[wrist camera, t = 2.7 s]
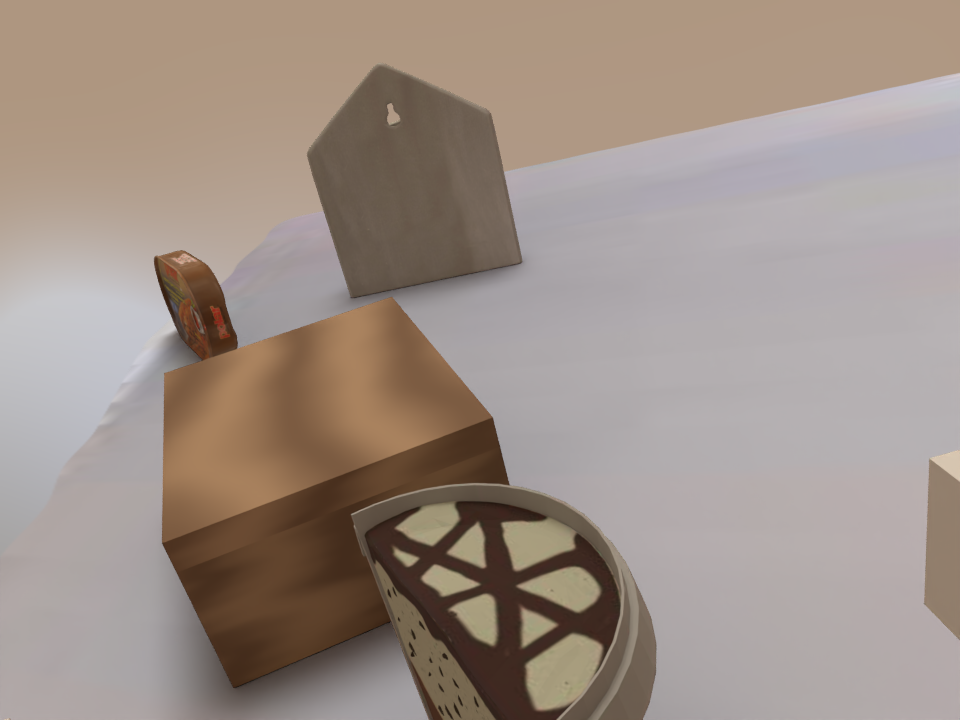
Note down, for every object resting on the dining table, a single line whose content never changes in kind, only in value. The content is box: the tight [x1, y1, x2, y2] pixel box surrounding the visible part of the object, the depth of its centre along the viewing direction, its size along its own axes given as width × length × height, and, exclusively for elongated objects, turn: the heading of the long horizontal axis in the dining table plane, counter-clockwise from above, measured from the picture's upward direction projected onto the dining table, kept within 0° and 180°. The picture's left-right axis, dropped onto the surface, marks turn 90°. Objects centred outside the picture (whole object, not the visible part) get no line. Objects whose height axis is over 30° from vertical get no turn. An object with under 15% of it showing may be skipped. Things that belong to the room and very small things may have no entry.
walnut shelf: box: [162, 297, 509, 688], centre depth 43 cm, size 14×18×8 cm
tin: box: [154, 250, 238, 360], centre depth 71 cm, size 15×3×8 cm, turn 33°
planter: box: [307, 63, 522, 298], centre depth 75 cm, size 16×8×19 cm, turn 90°
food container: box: [351, 483, 656, 720], centre depth 26 cm, size 12×6×10 cm, turn 29°
